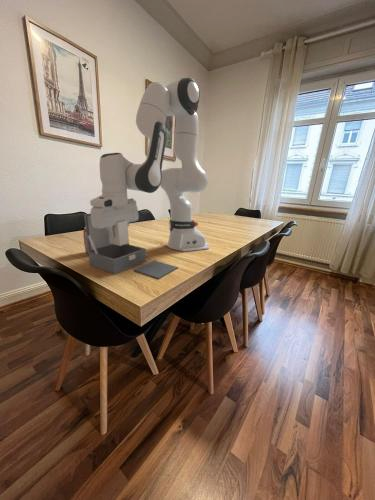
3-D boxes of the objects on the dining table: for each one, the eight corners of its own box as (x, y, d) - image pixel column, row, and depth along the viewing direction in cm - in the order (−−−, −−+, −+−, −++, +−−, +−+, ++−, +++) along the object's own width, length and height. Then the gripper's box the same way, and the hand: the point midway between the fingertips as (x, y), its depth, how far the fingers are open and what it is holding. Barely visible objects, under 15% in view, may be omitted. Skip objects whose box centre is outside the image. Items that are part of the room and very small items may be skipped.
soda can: (100, 255, 93) (98, 229, 89) (83, 255, 91) (80, 229, 88) (103, 250, 99) (101, 225, 96) (87, 250, 98) (84, 225, 94)
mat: (154, 261, 88) (154, 260, 88) (178, 268, 82) (178, 267, 82) (134, 270, 78) (134, 269, 78) (158, 279, 73) (158, 277, 72)
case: (147, 261, 88) (146, 214, 82) (116, 274, 75) (111, 219, 68) (122, 253, 96) (119, 210, 89) (89, 265, 82) (83, 214, 76)
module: (128, 243, 83) (127, 220, 80) (120, 245, 80) (118, 222, 77) (118, 240, 86) (116, 218, 83) (109, 243, 83) (107, 220, 80)
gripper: (130, 197, 87) (132, 229, 92) (85, 201, 71) (90, 240, 75) (141, 198, 84) (142, 231, 89) (97, 203, 68) (102, 243, 72)
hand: (118, 235), depth 82 cm, fingers closed on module, 4 cm apart
